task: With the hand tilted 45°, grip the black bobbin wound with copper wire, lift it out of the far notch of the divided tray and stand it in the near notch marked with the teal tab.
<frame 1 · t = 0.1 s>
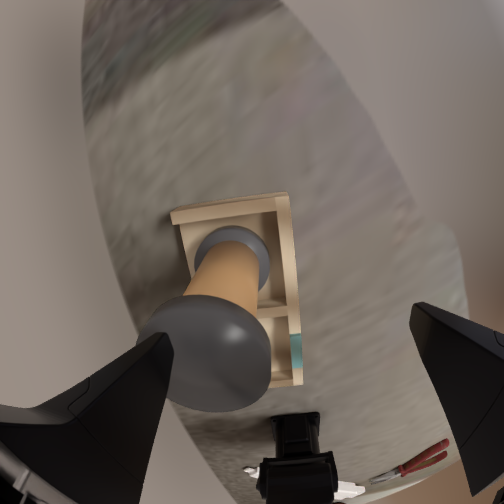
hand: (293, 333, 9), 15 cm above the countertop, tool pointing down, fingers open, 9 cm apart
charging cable: (312, 480, 41), on the countertop
divided tray: (248, 300, 25), on the countertop
bobbin: (233, 260, 23), point 1 cm above the countertop, touching divided tray
pliers: (412, 458, 39), on the countertop
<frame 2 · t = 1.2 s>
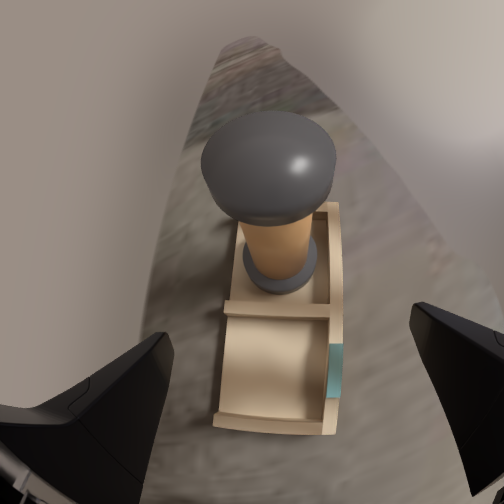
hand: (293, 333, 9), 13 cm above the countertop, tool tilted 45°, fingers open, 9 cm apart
divided tray: (284, 315, 22), on the countertop
bobbin: (280, 260, 23), point 1 cm above the countertop, touching divided tray
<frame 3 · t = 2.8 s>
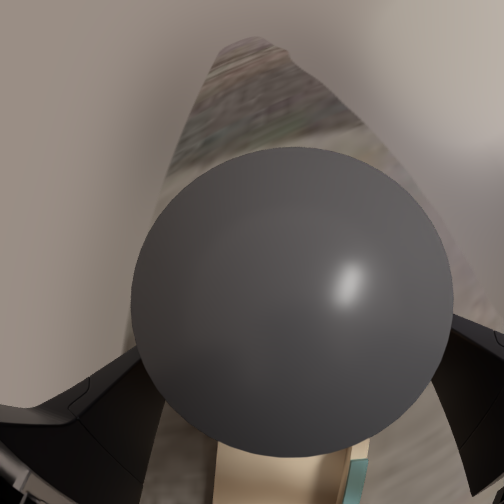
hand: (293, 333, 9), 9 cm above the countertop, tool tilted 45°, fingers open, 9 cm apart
divided tray: (293, 415, 15), on the countertop
bobbin: (291, 347, 16), point 1 cm above the countertop, touching divided tray
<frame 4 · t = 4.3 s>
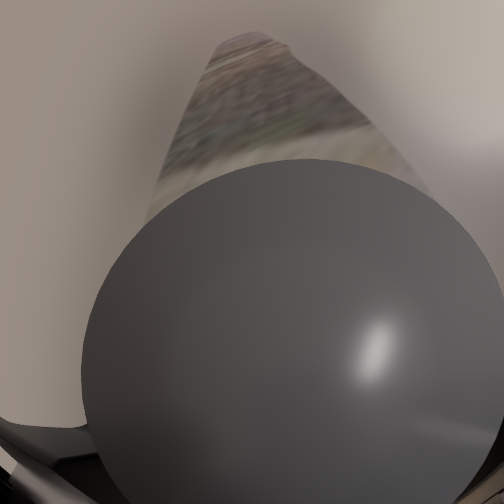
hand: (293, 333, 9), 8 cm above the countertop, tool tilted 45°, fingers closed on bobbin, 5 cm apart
bobbin: (294, 372, 14), point 1 cm above the countertop, touching gripper, divided tray
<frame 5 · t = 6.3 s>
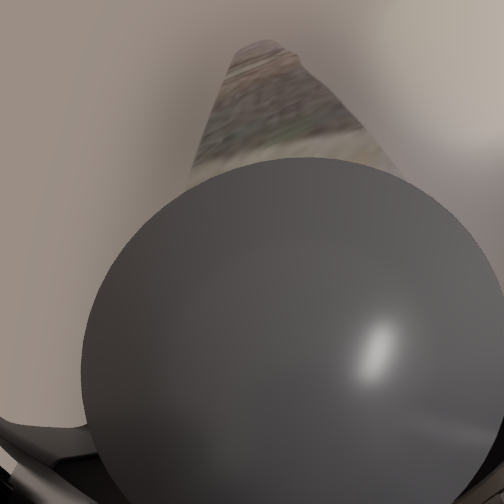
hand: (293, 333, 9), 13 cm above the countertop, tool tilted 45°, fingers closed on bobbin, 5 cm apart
bobbin: (294, 371, 14), point 6 cm above the countertop, touching gripper
when the fingers open (9 cm above the countertop, at t = 8.5 s): bobbin drops 1 cm, resting on divided tray.
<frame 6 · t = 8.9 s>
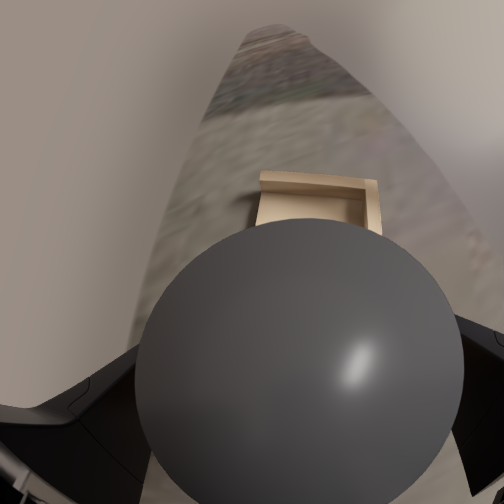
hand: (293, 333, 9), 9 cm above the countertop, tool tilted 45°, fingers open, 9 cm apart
divided tray: (309, 307, 18), on the countertop
bobbin: (293, 373, 16), point 1 cm above the countertop, touching divided tray
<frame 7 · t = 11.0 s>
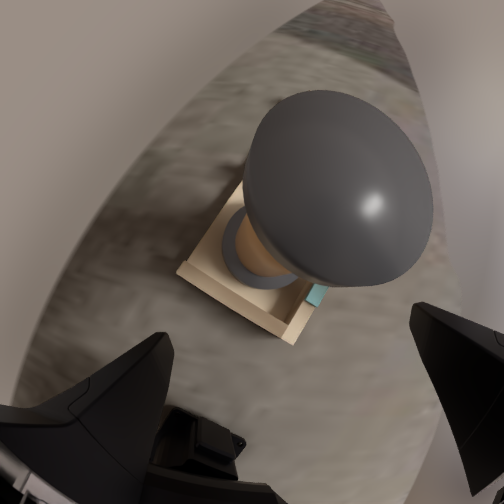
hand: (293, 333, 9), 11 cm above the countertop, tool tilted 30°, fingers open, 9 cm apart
divided tray: (295, 205, 22), on the countertop
bobbin: (263, 247, 20), point 1 cm above the countertop, touching divided tray
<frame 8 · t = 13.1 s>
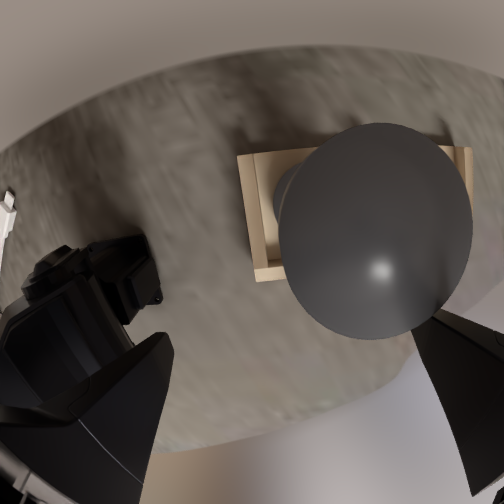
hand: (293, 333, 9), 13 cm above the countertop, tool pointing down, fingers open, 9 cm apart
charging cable: (2, 292, 26), on the countertop
divided tray: (368, 201, 20), on the countertop
bobbin: (314, 203, 19), point 1 cm above the countertop, tilted 6°, touching gripper, divided tray
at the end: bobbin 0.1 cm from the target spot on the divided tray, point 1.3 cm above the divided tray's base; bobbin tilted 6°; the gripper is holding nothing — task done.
